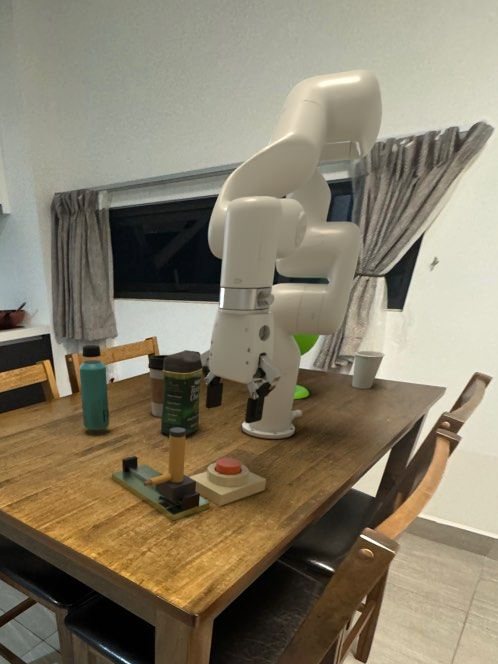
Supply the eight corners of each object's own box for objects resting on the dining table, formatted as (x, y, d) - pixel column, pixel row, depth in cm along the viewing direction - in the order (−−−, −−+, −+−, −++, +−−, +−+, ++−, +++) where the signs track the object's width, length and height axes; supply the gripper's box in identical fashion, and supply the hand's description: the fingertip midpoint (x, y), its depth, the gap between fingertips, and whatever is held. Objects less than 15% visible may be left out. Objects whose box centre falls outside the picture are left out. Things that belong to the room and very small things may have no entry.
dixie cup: (374, 384, 146) (383, 351, 141) (376, 390, 140) (386, 356, 134) (347, 382, 149) (354, 350, 143) (347, 388, 142) (355, 355, 137)
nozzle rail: (145, 469, 92) (145, 453, 90) (209, 508, 78) (211, 489, 76) (111, 479, 88) (111, 462, 86) (173, 521, 74) (173, 502, 72)
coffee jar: (184, 440, 106) (188, 357, 96) (156, 434, 110) (157, 353, 99) (203, 428, 112) (209, 349, 102) (176, 423, 116) (179, 346, 106)
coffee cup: (143, 416, 121) (143, 358, 113) (153, 408, 128) (154, 352, 120) (172, 420, 118) (174, 360, 110) (182, 410, 125) (184, 353, 117)
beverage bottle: (106, 436, 108) (102, 348, 98) (80, 435, 110) (73, 348, 99) (112, 427, 114) (109, 343, 103) (87, 426, 115) (81, 342, 104)
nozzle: (177, 487, 81) (180, 422, 75) (195, 497, 78) (199, 431, 71) (136, 500, 77) (135, 433, 71) (153, 512, 74) (153, 442, 67)
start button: (228, 464, 85) (229, 455, 84) (245, 472, 81) (246, 463, 81) (210, 469, 83) (211, 461, 82) (227, 478, 80) (228, 469, 79)
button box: (230, 473, 90) (233, 454, 88) (264, 490, 83) (267, 470, 81) (188, 487, 85) (189, 467, 83) (220, 506, 78) (222, 485, 76)
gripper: (308, 303, 62) (287, 423, 72) (223, 295, 75) (215, 398, 84) (270, 307, 59) (253, 432, 68) (188, 298, 71) (183, 405, 81)
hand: (232, 413), depth 76 cm, fingers open, 9 cm apart
